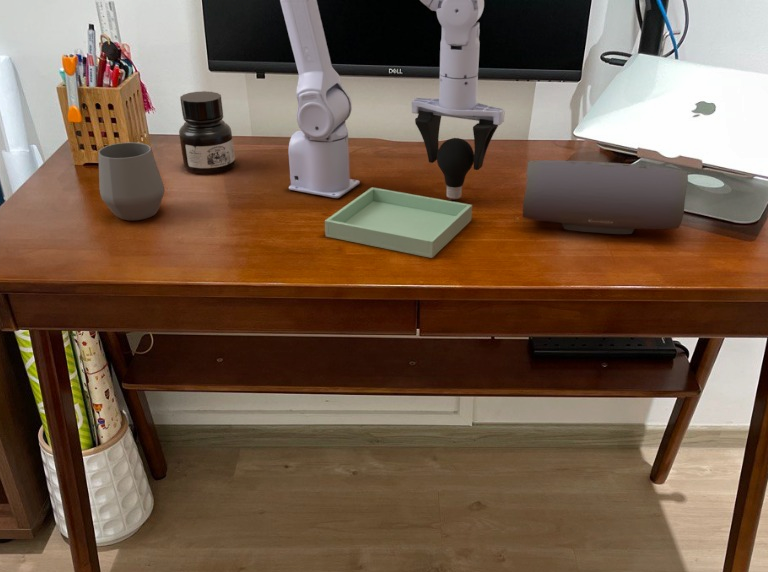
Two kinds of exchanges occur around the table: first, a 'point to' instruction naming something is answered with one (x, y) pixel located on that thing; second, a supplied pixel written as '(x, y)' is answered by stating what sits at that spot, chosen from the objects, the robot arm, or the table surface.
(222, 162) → the ink bottle
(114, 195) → the cup
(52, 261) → the table surface
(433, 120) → the robot arm
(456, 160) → the light bulb
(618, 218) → the bluetooth speaker
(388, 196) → the tray
